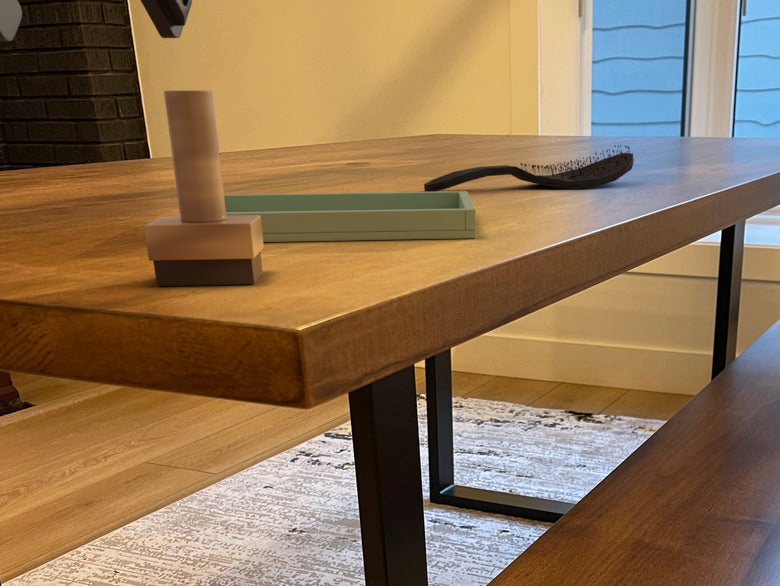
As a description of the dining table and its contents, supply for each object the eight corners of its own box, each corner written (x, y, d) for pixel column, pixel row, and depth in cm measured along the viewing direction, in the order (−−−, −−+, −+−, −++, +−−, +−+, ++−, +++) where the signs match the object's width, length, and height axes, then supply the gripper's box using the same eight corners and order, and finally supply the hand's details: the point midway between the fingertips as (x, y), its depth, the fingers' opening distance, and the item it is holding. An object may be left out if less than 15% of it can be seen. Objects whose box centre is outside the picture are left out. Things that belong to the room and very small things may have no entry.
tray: (183, 243, 74) (179, 214, 73) (217, 220, 86) (214, 194, 85) (476, 238, 75) (475, 209, 74) (467, 216, 88) (467, 191, 87)
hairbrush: (410, 162, 108) (611, 142, 117) (413, 197, 110) (611, 175, 119) (437, 167, 101) (649, 147, 110) (440, 205, 103) (648, 182, 112)
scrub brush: (152, 287, 58) (123, 91, 54) (168, 275, 62) (142, 90, 57) (257, 284, 58) (236, 90, 54) (266, 272, 62) (247, 89, 58)
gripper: (67, -476, 32) (252, -35, 47) (-309, -436, 34) (-19, -28, 49) (-5, -331, 29) (216, 88, 44) (-406, -298, 32) (-69, 89, 47)
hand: (92, 26), depth 47 cm, fingers open, 8 cm apart
